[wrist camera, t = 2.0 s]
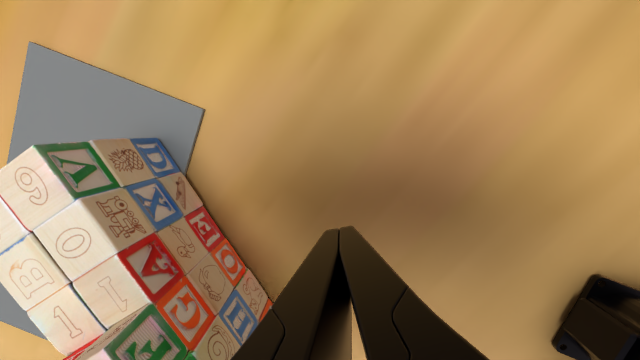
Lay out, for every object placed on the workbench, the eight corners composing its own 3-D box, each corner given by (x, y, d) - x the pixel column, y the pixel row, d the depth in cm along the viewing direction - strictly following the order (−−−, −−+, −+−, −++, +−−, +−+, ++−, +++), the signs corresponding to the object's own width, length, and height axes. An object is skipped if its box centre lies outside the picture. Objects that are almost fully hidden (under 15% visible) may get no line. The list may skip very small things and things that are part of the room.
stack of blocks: (97, 178, 23) (-168, 231, 11) (159, 135, 22) (-55, 142, 10) (248, 388, 26) (167, 621, 13) (310, 356, 25) (282, 576, 13)
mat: (205, 109, 22) (203, 109, 22) (127, 369, 26) (125, 372, 26) (33, 42, 22) (28, 41, 22) (-17, 310, 27) (-20, 312, 26)
